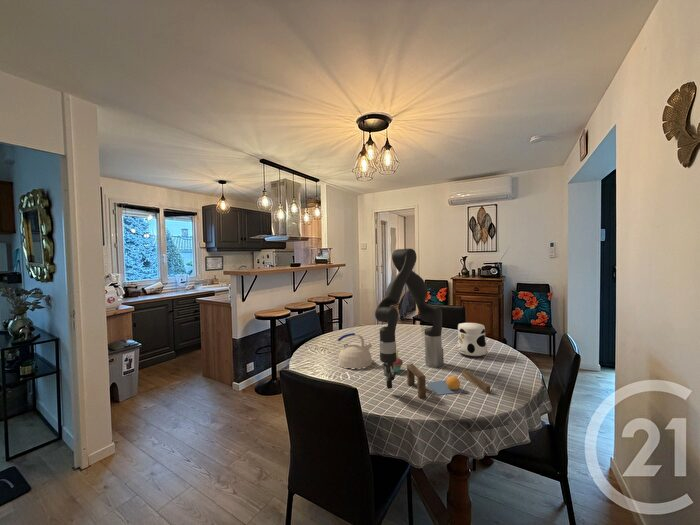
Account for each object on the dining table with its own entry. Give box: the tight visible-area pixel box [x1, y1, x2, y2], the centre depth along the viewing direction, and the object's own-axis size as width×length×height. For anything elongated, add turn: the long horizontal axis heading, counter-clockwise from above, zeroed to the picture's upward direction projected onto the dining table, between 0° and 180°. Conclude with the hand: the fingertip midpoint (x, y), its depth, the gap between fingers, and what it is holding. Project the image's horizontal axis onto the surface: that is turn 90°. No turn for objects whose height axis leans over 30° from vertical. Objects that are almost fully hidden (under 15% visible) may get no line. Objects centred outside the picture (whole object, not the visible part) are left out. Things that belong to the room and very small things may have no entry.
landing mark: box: [426, 379, 465, 396], centre depth 139 cm, size 13×13×1 cm
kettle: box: [337, 332, 373, 369], centre depth 175 cm, size 20×21×18 cm
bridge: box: [406, 363, 427, 399], centre depth 137 cm, size 3×15×10 cm, turn 10°
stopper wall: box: [461, 369, 491, 394], centre depth 142 cm, size 2×20×3 cm, turn 9°
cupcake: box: [393, 349, 404, 373], centre depth 161 cm, size 9×8×12 cm
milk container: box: [456, 322, 488, 358], centre depth 183 cm, size 17×17×18 cm
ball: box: [446, 375, 461, 390], centre depth 137 cm, size 6×6×6 cm
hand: (389, 387), depth 135 cm, fingers closed
